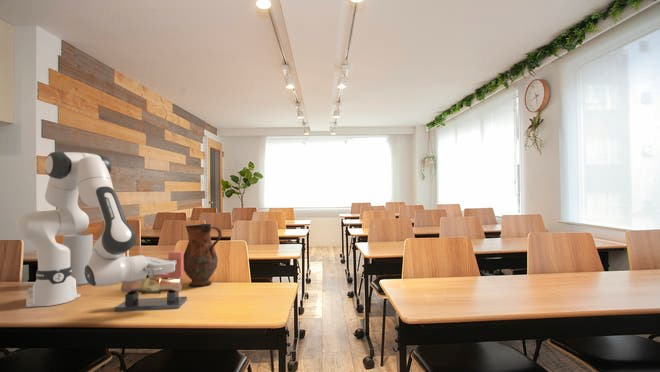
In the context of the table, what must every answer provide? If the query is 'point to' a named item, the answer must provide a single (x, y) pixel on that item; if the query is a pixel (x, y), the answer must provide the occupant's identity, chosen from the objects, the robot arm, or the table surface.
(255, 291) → the table surface
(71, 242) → the cylinder vase
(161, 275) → the valve lever
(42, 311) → the table surface
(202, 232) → the pitcher
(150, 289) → the valve
